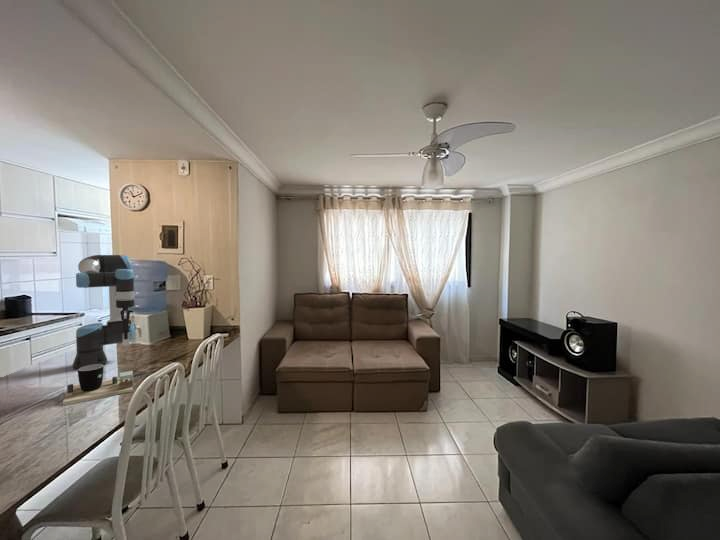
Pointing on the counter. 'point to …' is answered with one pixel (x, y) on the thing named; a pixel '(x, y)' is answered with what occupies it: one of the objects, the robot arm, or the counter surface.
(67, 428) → the counter surface
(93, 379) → the mug
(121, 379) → the block
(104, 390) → the board
